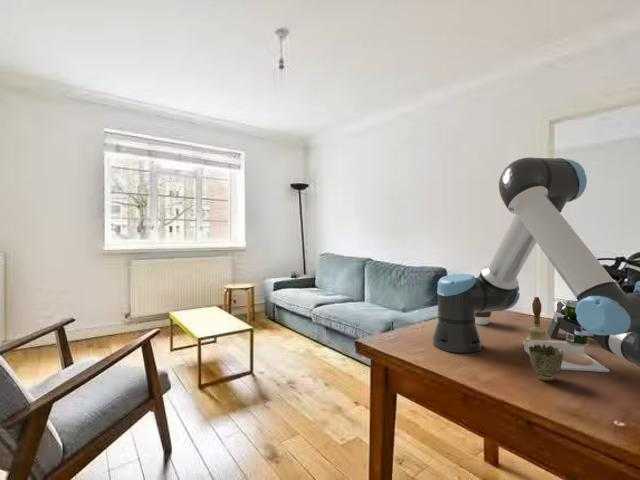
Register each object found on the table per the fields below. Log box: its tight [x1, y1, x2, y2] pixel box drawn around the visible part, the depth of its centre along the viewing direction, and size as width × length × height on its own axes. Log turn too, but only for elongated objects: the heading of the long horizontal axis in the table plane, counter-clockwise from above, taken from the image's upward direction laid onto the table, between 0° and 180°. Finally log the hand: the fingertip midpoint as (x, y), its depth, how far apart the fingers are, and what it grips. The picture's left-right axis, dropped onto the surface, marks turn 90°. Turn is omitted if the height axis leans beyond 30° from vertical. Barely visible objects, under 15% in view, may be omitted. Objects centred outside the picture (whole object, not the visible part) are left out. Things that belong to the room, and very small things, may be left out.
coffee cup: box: [475, 311, 492, 326], centre depth 141 cm, size 11×11×12 cm
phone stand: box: [546, 301, 567, 341], centre depth 121 cm, size 9×6×12 cm, turn 66°
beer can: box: [565, 300, 590, 347], centre depth 99 cm, size 5×5×12 cm
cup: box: [529, 344, 563, 382], centre depth 89 cm, size 8×7×8 cm
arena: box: [523, 339, 610, 373], centre depth 101 cm, size 16×14×4 cm
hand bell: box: [522, 296, 549, 345], centre depth 114 cm, size 8×8×16 cm
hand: (566, 316), depth 104 cm, fingers closed on beer can, 5 cm apart
